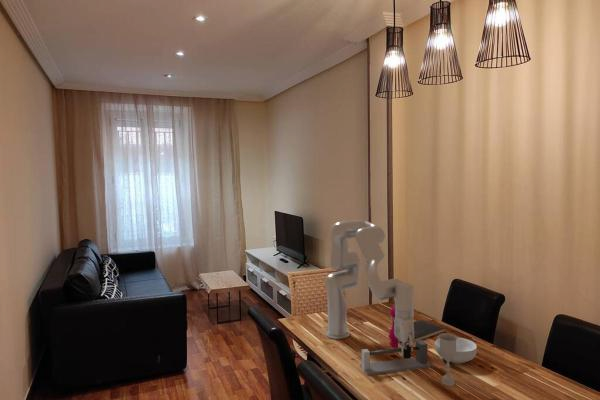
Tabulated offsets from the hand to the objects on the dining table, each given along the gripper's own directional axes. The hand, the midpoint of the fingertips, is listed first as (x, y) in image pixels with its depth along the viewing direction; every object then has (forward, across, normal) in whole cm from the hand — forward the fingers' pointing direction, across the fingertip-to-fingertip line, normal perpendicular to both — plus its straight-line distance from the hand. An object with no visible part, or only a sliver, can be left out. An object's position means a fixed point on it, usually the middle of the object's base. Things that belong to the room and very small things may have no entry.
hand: (404, 355), depth 176 cm
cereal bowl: (+5, 0, +24) cm, 24 cm away
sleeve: (-1, 0, 0) cm, 1 cm away
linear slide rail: (+4, 0, -4) cm, 6 cm away
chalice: (+5, +17, +10) cm, 20 cm away
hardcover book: (+5, -33, +23) cm, 40 cm away
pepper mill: (+5, -20, +6) cm, 21 cm away
